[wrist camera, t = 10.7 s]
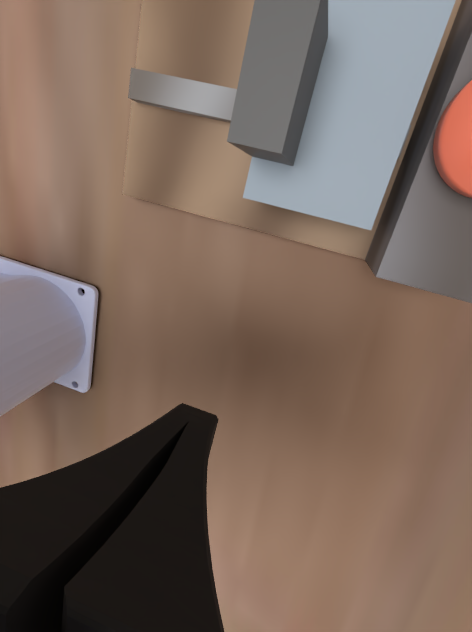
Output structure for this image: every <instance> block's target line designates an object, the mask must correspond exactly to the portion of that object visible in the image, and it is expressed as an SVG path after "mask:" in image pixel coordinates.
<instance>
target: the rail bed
mask: <svg viewBox="0 0 472 632" xmlns="http://www.w3.org/2000/svg"><path fill="white" fill-rule="evenodd" d="M254 1H255V0H142V3H141V13H140V23H139V32H138V42H137V52H136V62H135V68H131V75H130V85H129V95H128V98H130V99H132V101H131V111H130V121H129V131H128V141H127V151H126V161H125V171H124V180H123V190H122V195H126V196H130V197H133V198H137V199H141V200H145V201H148V202H152V203H156V204H159V205H163V206H167V207H171V208H174V209H178V210H182V211H185V212H189V213H193V214H197V215H200V216H204V217H208V218H211V219H215V220H219V221H223V222H226V223H230V224H234V225H237V226H241V227H245V228H248V229H252V230H256V231H260V232H263V233H267V234H271V235H274V236H278V237H282V238H286V239H289V240H293V241H297V242H300V243H304V244H308V245H312V246H315V247H319V248H323V249H326V250H330V251H334V252H338V253H341V254H345V255H349V256H352V257H356V258H360V259H363V260H365V261H366V262H367V264H368V265H369V267H370V268H371V270H372V272H373V273H374V275H375V276H376V277H379V278H382V279H386V280H390V281H393V282H397V283H401V284H404V285H408V286H411V287H415V288H419V289H422V290H426V291H430V292H433V293H437V294H440V295H444V296H448V297H451V298H455V299H459V300H462V301H466V302H469V303H472V198H469V197H466V196H463V195H461V194H459V193H457V192H456V191H454V190H453V189H451V188H450V187H449V186H448V185H447V184H446V183H445V182H444V180H443V179H442V178H441V176H440V174H439V172H438V170H437V168H436V165H435V161H434V155H433V142H434V136H435V131H436V128H437V125H438V122H439V120H440V118H441V116H442V113H443V112H444V110H445V109H446V107H447V105H448V104H449V103H450V101H451V100H452V99H453V97H454V96H455V95H456V94H457V93H458V92H459V91H460V90H461V89H462V88H463V87H464V86H465V85H467V84H468V83H469V82H470V81H471V80H472V0H456V1H455V4H454V6H453V9H452V12H451V15H450V17H449V20H448V23H447V25H446V28H445V31H444V34H443V36H442V39H441V42H440V44H439V47H438V50H437V53H436V55H435V58H434V61H433V63H432V66H431V69H430V72H429V74H428V77H427V80H426V82H425V85H424V88H423V91H422V93H421V96H420V99H419V102H418V104H417V107H416V110H415V112H414V115H413V118H412V121H411V123H410V126H409V129H408V131H407V134H406V137H405V140H404V142H403V145H402V148H401V150H400V153H399V156H398V159H397V161H396V164H395V167H394V169H393V172H392V175H391V178H390V180H389V183H388V186H387V188H386V191H385V194H384V197H383V199H382V202H381V205H380V207H379V210H378V213H377V216H376V218H375V221H374V224H373V227H372V229H371V230H367V229H363V228H359V227H356V226H352V225H348V224H344V223H340V222H336V221H332V220H328V219H324V218H320V217H316V216H313V215H309V214H305V213H301V212H297V211H293V210H289V209H285V208H281V207H277V206H273V205H269V204H266V203H262V202H258V201H254V200H250V199H246V198H243V194H244V190H245V186H246V181H247V177H248V172H249V168H250V163H251V159H252V156H250V155H249V154H247V153H245V152H244V151H242V150H240V149H239V148H237V147H235V146H234V145H232V144H231V143H229V142H227V138H228V133H229V128H230V123H231V117H232V112H233V107H234V102H235V97H236V92H237V87H238V82H239V77H240V72H241V67H242V62H243V57H244V52H245V46H246V41H247V36H248V31H249V26H250V21H251V16H252V11H253V6H254Z"/></svg>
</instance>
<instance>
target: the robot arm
mask: <svg viewBox="0 0 472 632" xmlns="http://www.w3.org/2000/svg"><path fill="white" fill-rule="evenodd" d="M82 288H83V289H84V291H85V294H84V293H83V292H82ZM97 307H98V290H97V289H96V288H95V287H94V286H92V285H90V284H86V283H83V282H80V281H77V280H74V279H71V278H68V277H65V276H61V275H58V274H55V273H52V272H49V271H46V270H43V269H40V268H36V267H33V266H30V265H27V264H24V263H21V262H18V261H15V260H11V259H8V258H5V257H2V256H0V416H2V415H3V414H5V413H7V412H8V411H10V410H11V409H13V408H14V407H16V406H17V405H19V404H20V403H22V402H23V401H25V400H26V399H28V398H29V397H31V396H33V395H34V394H36V393H37V392H39V391H40V390H42V389H43V388H45V387H46V386H48V385H49V384H51V383H52V382H55V383H58V384H60V385H63V386H66V387H68V388H71V389H74V390H76V391H79V392H82V393H85V392H87V391H88V390H89V389H90V387H91V376H92V365H93V353H94V342H95V330H96V318H97ZM76 382H77V383H78V384H77V383H76ZM217 423H218V418H217V416H216V415H213V414H211V413H208V412H205V411H202V410H200V409H197V408H194V407H191V406H189V405H186V404H183V403H182V404H180V405H178V406H177V407H175V408H174V409H172V410H171V411H169V412H168V413H167V414H165V415H164V416H162V417H161V418H159V419H158V420H156V421H155V422H153V423H151V424H150V425H148V426H147V427H145V428H143V429H142V430H140V431H138V432H137V433H135V434H133V435H132V436H130V437H128V438H126V439H124V440H123V441H121V442H119V443H117V444H115V445H113V446H112V447H110V448H108V449H106V450H104V451H102V452H99V453H97V454H95V455H93V456H91V457H89V458H86V459H84V460H82V461H79V462H77V463H75V464H72V465H69V466H67V467H64V468H62V469H59V470H56V471H54V472H51V473H48V474H45V475H42V476H39V477H36V478H33V479H30V480H27V481H23V482H20V483H16V484H13V485H9V486H6V487H2V488H0V632H224V628H223V624H222V619H221V614H220V609H219V604H218V599H217V594H216V588H215V582H214V576H213V570H212V562H211V553H210V545H209V537H208V523H207V502H206V487H207V465H208V458H209V454H210V450H211V446H212V442H213V438H214V434H215V430H216V427H217Z"/></svg>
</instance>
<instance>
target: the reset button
mask: <svg viewBox="0 0 472 632" xmlns="http://www.w3.org/2000/svg"><path fill="white" fill-rule="evenodd" d="M433 155H434V161H435V165H436V168H437V170H438V172H439V174H440V176H441V178H442V179H443V180H444V182H445V183H446V184H447V185H448V186H449V187H450V188H451V189H453V190H454V191H456V192H457V193H459V194H461V195H463V196H466V197H469V198H472V80H471V81H470V82H469V83H468V84H467V85H465V86H464V87H463V88H462V89H461V90H460V91H459V92H458V93H457V94H456V95H455V96H454V97H453V99H452V100H451V101H450V103H449V104H448V105H447V107H446V109H445V110H444V112H443V113H442V116H441V118H440V120H439V122H438V125H437V128H436V131H435V136H434V142H433Z"/></svg>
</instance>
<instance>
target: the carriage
mask: <svg viewBox="0 0 472 632" xmlns="http://www.w3.org/2000/svg"><path fill="white" fill-rule="evenodd" d="M455 1H456V0H255V1H254V6H253V11H252V16H251V21H250V26H249V31H248V36H247V41H246V46H245V52H244V57H243V62H242V67H241V72H240V77H239V82H238V87H237V92H236V97H235V102H234V107H233V112H232V117H231V123H230V128H229V133H228V138H227V142H229V143H231V144H232V145H234V146H235V147H237V148H239V149H240V150H242V151H244V152H245V153H247V154H249V155H250V156H252V159H251V163H250V168H249V172H248V177H247V181H246V186H245V190H244V194H243V198H246V199H250V200H254V201H258V202H262V203H266V204H269V205H273V206H277V207H281V208H285V209H289V210H293V211H297V212H301V213H305V214H309V215H313V216H316V217H320V218H324V219H328V220H332V221H336V222H340V223H344V224H348V225H352V226H356V227H359V228H363V229H367V230H371V229H372V227H373V224H374V221H375V218H376V216H377V213H378V210H379V207H380V205H381V202H382V199H383V197H384V194H385V191H386V188H387V186H388V183H389V180H390V178H391V175H392V172H393V169H394V167H395V164H396V161H397V159H398V156H399V153H400V150H401V148H402V145H403V142H404V140H405V137H406V134H407V131H408V129H409V126H410V123H411V121H412V118H413V115H414V112H415V110H416V107H417V104H418V102H419V99H420V96H421V93H422V91H423V88H424V85H425V82H426V80H427V77H428V74H429V72H430V69H431V66H432V63H433V61H434V58H435V55H436V53H437V50H438V47H439V44H440V42H441V39H442V36H443V34H444V31H445V28H446V25H447V23H448V20H449V17H450V15H451V12H452V9H453V6H454V4H455Z"/></svg>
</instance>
